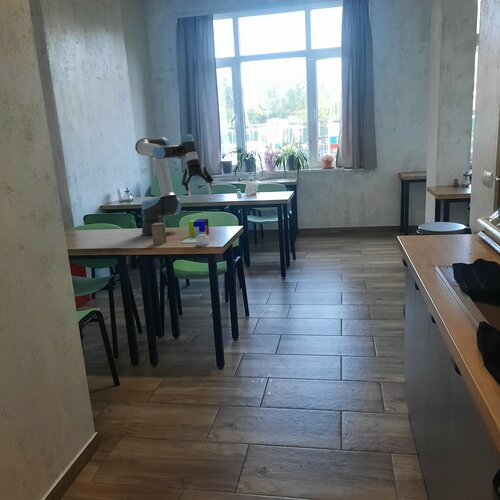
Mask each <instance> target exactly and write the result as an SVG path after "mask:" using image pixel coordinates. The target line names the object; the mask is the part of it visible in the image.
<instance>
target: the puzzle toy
mask: <svg viewBox="0 0 500 500" xmlns="http://www.w3.org/2000/svg"><path fill="white" fill-rule="evenodd" d="M187 222H188V224H187V225H188V233H189V234H188V235H189V237H196V236H198V235H200V234H206V235H208V236H209V234H210V228H209V227H210V225H209V218H193V219H192V220H189V221H187Z"/></svg>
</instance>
